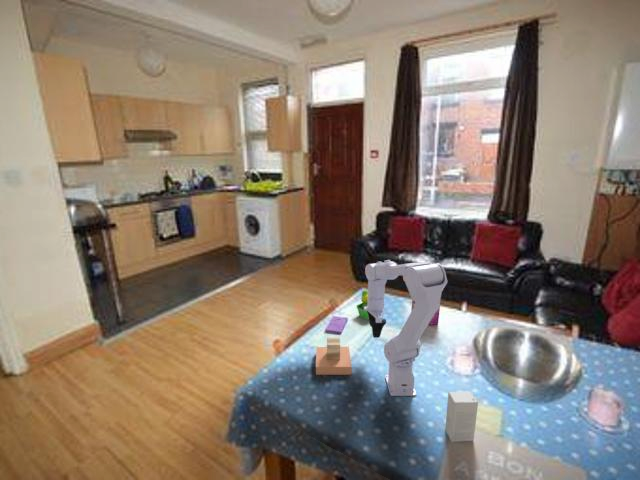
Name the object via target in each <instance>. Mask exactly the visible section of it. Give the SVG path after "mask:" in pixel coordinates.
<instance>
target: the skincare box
mask: <svg viewBox="0 0 640 480" xmlns="http://www.w3.org/2000/svg"><path fill="white" fill-rule="evenodd" d="M478 405H479V402H478V400H477V398H476V397H475V395H474V394H473V393H472V391H470V390H468V391H466V390H465V391H463V390H462V391H448V395H447V405H446V415H445V429H444V430H445V432H446V433H447V436H448V438H449V440H450V442H451V443H454V442H473V441H474V440H475V432H476V422H477V414H478Z"/></svg>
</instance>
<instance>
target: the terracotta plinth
mask: <svg viewBox="0 0 640 480" xmlns="http://www.w3.org/2000/svg"><path fill="white" fill-rule="evenodd" d="M352 369H353V366H352V360H351V353H350V347H349V346H340V360H327V346H315V375H316V376H317V375H319V376H321V375H323V376H324V375H325V376H327V375H328V376H330V375H331V376H332V375H337V376H338V375H339V376H340V375H342V376H343V375H344V376H345V375H346V376H347V375H351V376H352V375H353V373H352Z"/></svg>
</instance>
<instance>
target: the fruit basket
mask: <svg viewBox="0 0 640 480" xmlns="http://www.w3.org/2000/svg"><path fill="white" fill-rule="evenodd" d="M360 300H361V303H359V304H357V305H356V308H357V312H358V315H359V317H361V318H362V319H365V320H368V321H369V316H368V312H367V311H365V310H364V307H366V306H367V305H368V289H367V290H366V289H363V290H362V292H361V299H360Z"/></svg>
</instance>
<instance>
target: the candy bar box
mask: <svg viewBox="0 0 640 480" xmlns="http://www.w3.org/2000/svg"><path fill="white" fill-rule="evenodd" d="M441 300H442V298H441V299H440V302H441ZM415 304H416V302H415V301H413V300H412V299H411V309H410V313H411V312H412V310H413V308H414V306H415ZM440 308H441V303H440V304H439V308H438V309H437V311H436V313H435V314H434V316H433V317H432V319H431V321H430V322H429V324H428V325H427V326H436V327H437V326H439V318H440V311H441V309H440Z"/></svg>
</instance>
